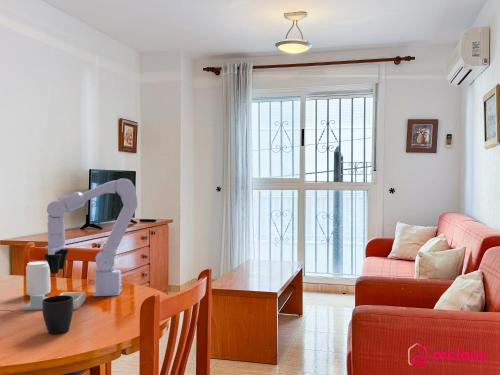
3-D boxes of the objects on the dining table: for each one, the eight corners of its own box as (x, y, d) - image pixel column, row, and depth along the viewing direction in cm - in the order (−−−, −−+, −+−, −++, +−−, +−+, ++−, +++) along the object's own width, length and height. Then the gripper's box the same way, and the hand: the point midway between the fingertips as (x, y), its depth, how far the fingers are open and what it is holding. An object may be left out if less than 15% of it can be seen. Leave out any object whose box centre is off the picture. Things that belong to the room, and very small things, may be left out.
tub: (85, 299, 171) (85, 291, 171) (77, 309, 159) (77, 300, 159) (62, 300, 170) (62, 292, 170) (52, 310, 158) (52, 301, 158)
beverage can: (54, 291, 183) (53, 260, 183) (43, 297, 175) (42, 265, 175) (34, 291, 184) (33, 260, 184) (22, 297, 176) (21, 264, 176)
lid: (60, 298, 172) (59, 286, 172) (49, 308, 159) (49, 296, 159) (35, 299, 171) (35, 287, 171) (22, 309, 159) (22, 297, 158)
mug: (72, 321, 146) (71, 291, 146) (74, 333, 135) (73, 300, 135) (43, 325, 143) (42, 294, 143) (43, 338, 132) (42, 304, 132)
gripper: (51, 231, 180) (52, 267, 180) (38, 237, 165) (39, 276, 166) (70, 231, 180) (71, 266, 181) (59, 236, 166) (60, 275, 167)
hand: (57, 271), depth 173 cm, fingers open, 7 cm apart
